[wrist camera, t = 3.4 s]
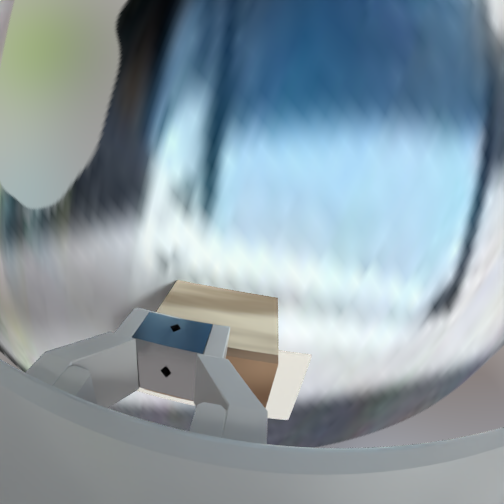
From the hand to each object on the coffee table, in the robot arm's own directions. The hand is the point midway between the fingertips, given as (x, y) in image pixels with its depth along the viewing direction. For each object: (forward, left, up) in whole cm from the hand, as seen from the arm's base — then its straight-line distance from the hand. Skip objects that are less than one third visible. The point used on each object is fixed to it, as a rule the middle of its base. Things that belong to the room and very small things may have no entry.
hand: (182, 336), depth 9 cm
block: (+7, 0, -14) cm, 16 cm away
